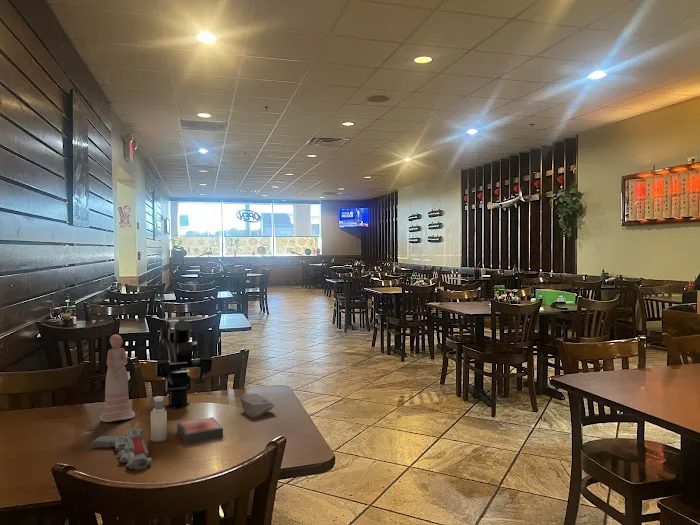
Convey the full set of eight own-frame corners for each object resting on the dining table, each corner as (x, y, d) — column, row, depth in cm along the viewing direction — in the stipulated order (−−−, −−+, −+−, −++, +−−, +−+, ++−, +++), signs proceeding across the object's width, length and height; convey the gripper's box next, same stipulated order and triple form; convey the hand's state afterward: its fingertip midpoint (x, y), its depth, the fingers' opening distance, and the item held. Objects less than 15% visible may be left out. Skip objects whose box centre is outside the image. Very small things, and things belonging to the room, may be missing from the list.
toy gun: (93, 468, 138) (153, 455, 145) (91, 435, 162) (142, 425, 169) (94, 481, 139) (153, 467, 146) (91, 446, 162) (142, 436, 169)
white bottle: (147, 440, 165) (147, 398, 165) (159, 435, 169) (159, 394, 169) (158, 442, 163) (158, 400, 163) (170, 437, 167) (169, 396, 167)
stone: (276, 414, 192) (276, 398, 191) (254, 419, 185) (254, 403, 185) (257, 406, 201) (257, 391, 201) (236, 411, 195) (236, 395, 195)
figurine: (114, 410, 194) (114, 331, 193) (144, 412, 191) (143, 332, 190) (89, 421, 181) (88, 337, 180) (121, 424, 179) (120, 339, 177)
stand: (177, 431, 172) (177, 422, 172) (212, 425, 178) (212, 416, 178) (185, 444, 162) (185, 434, 162) (223, 437, 168) (223, 427, 168)
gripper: (155, 337, 180) (159, 368, 168) (210, 333, 188) (217, 362, 176) (154, 360, 185) (158, 392, 174) (207, 356, 194) (214, 386, 182)
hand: (187, 382), depth 176 cm, fingers open, 9 cm apart
